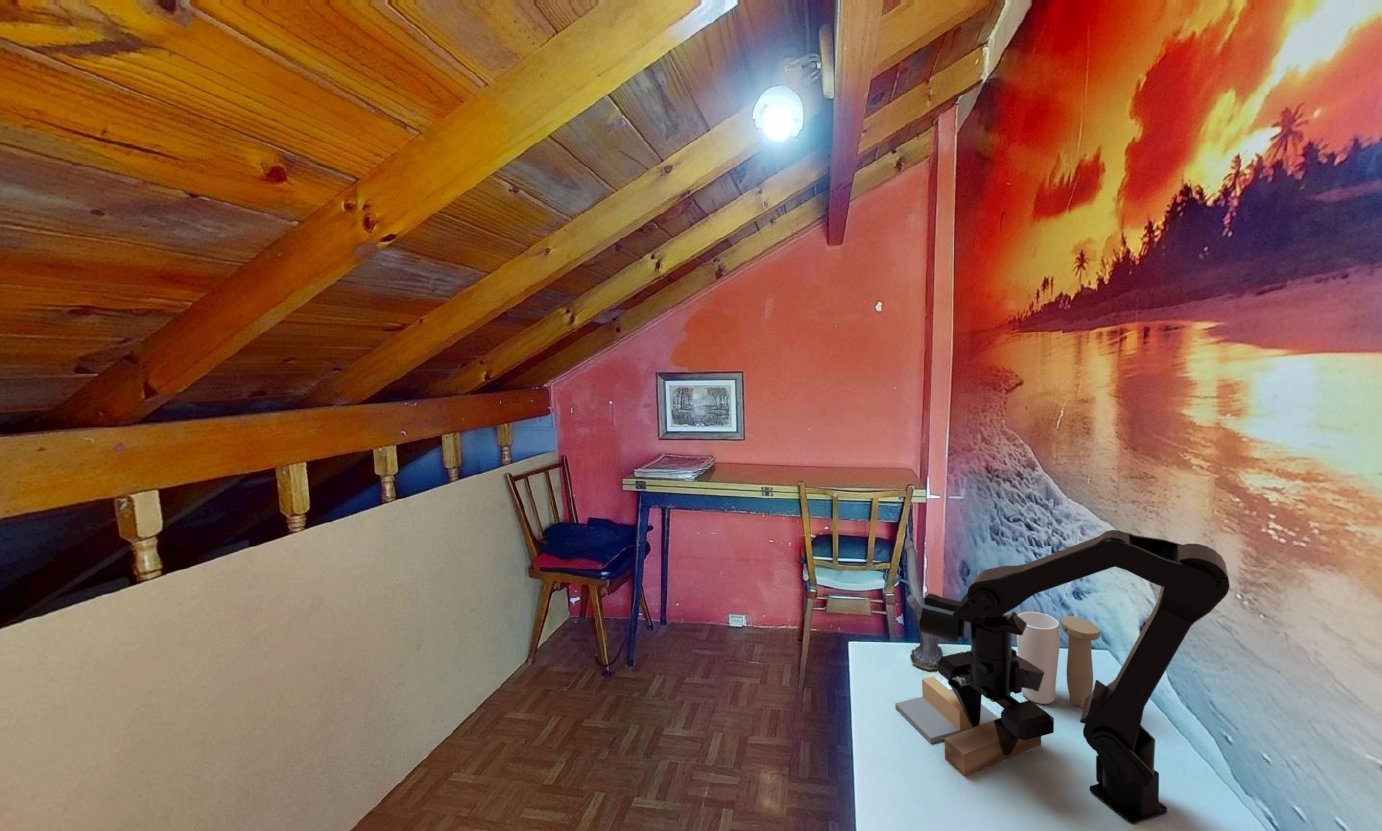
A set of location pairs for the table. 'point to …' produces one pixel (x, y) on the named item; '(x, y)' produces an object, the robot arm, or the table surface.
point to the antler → (928, 647)
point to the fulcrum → (938, 712)
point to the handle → (1079, 657)
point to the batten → (981, 748)
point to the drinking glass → (1040, 652)
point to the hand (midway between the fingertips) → (990, 739)
